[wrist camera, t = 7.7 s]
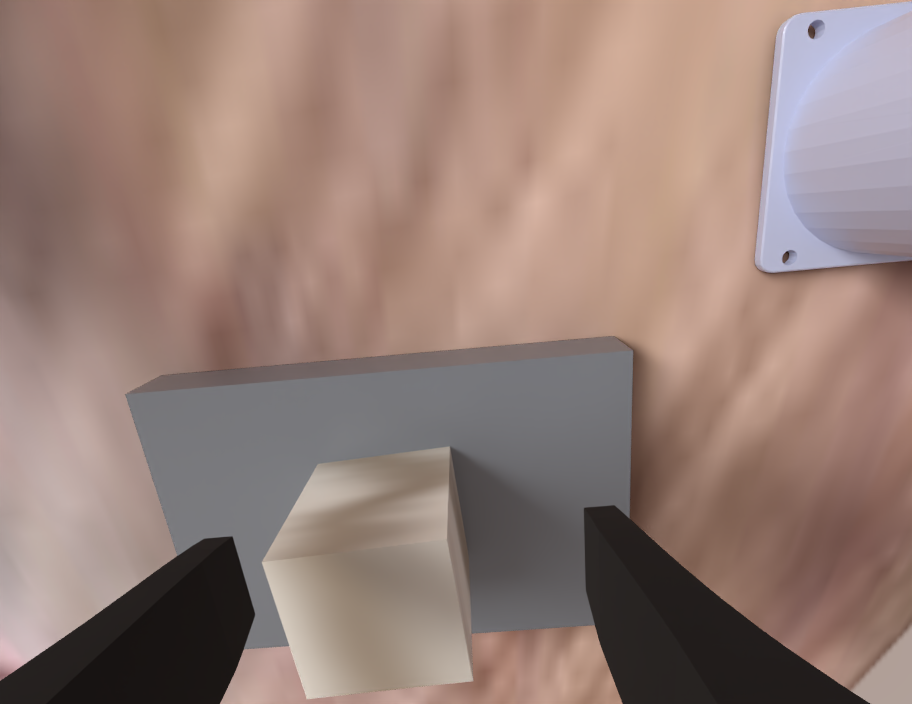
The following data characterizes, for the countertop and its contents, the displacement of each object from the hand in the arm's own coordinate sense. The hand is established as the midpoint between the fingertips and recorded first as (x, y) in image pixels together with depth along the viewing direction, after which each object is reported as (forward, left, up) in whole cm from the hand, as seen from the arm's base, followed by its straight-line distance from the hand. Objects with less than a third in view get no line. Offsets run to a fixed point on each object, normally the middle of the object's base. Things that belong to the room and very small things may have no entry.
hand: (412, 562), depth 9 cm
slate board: (+2, +4, -9) cm, 10 cm away
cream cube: (+2, +4, -7) cm, 9 cm away
